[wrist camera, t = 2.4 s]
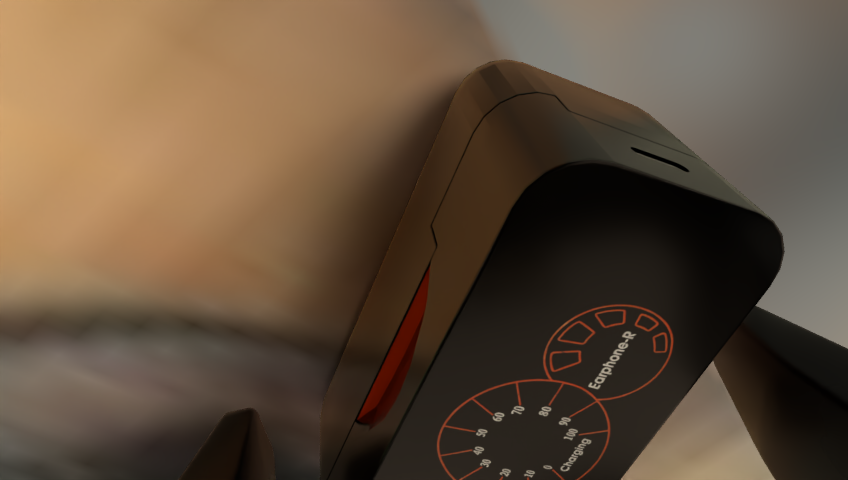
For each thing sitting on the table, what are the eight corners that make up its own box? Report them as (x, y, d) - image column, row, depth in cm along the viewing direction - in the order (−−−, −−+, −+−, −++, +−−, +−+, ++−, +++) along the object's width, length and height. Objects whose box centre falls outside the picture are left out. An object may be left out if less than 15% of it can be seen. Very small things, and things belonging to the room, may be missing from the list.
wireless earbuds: (295, 440, 11) (287, 641, 8) (467, 31, 8) (546, 138, 5) (537, 480, 12) (597, 664, 10) (766, 147, 9) (953, 280, 6)
